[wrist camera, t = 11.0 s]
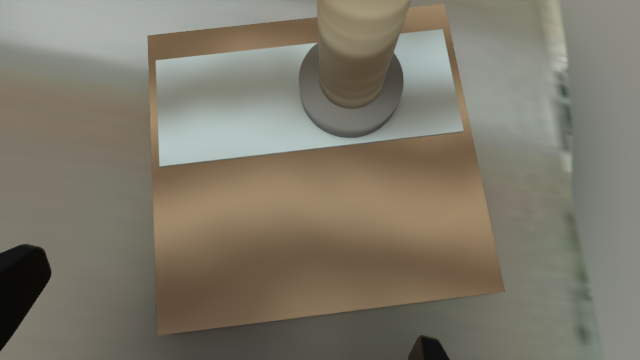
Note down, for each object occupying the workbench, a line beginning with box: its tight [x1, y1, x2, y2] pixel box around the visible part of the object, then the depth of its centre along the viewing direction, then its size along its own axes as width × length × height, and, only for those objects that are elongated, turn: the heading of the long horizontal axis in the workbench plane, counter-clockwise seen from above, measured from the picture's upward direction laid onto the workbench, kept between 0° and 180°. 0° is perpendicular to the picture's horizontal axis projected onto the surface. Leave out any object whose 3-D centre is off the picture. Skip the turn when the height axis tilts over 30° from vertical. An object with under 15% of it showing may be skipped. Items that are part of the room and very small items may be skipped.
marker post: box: [299, 0, 411, 138], centre depth 16 cm, size 6×6×12 cm
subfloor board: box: [148, 4, 505, 336], centre depth 22 cm, size 17×18×1 cm
